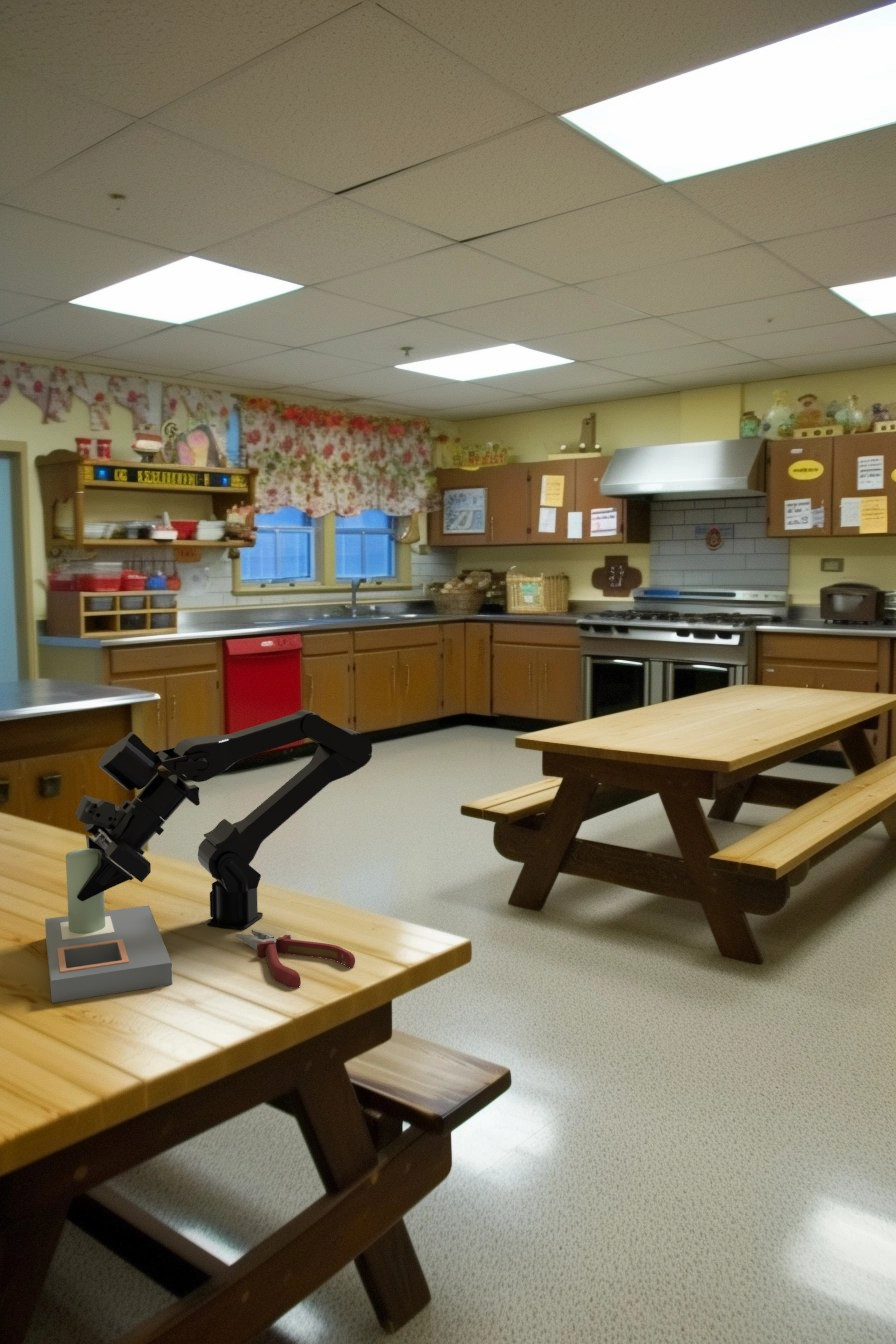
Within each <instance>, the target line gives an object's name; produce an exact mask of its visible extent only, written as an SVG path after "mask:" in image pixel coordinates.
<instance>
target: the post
mask: <svg viewBox="0 0 896 1344" xmlns="http://www.w3.org/2000/svg"><path fill="white" fill-rule="evenodd" d="M98 850H99V849H87V848H81V849H76V850H71V851H68V852H67V853H66V854H65V866H66V869H65V870H66V894H67V895H66V896H67V898H66V899H67V916H68V922H69V931H70V932H72V933H78V934H84V933H92V932H96V931H99V930H101V929H103V928H104V927H105V911H106V909H105V907H106V906H105V891H103V892H101V893H99V894H97V895H95V896H93V897H91V898H89V899H87V900H85V901H80V900H79V899H78V898H77V895H78V893H79V892H80V890H81V888H82V887H83V885H84V884H85V883H86V881H87V880H88V878H89V877H90V875H91V874H92V872H93V871H94V869H95V868H96V867H97V865H98ZM100 851H101V850H100ZM101 852H102V851H101Z"/></svg>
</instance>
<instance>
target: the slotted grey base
mask: <svg viewBox="0 0 896 1344" xmlns="http://www.w3.org/2000/svg"><path fill="white" fill-rule="evenodd" d="M44 924H45V927H44V928H45V943H46V952H47V953H46V954H47V955H46V956H47V964H48V974H49V975H48V976H49V985H50V986H49V987H50V995H51V996H50V997H51V1004H55V1003H62V1002H69V1001H75V1000H81V999H89V998H93V997H98V996H100V997H101V996H105V995H114V994H118V993H124V992H131V991H137V990H143V989H148V988H149V989H150V988H157V987H162V986H163V987H164V986H168V985H173V974H172V973H173V971H172V970H173V967H172V965H173V964H172V960H171V956H170V955H169V952H168V950H167V947H166V945H165V942H164V940H163V937H162V935H161V932H160V930H159V928H158V927H159V926H158V924H157V922H156V920H155V917H154V914H153V912H152V909H151V906H150V905H149V904H148V905H142V906H135V907H134V906H133V907H128V908H127V907H125V908H117V909H110V910H105V927H104V928H103V929H101V930H99V931H96V932H92V933H84V934H78V933H72V932H70V931H69V922H68V915H64V916H57V917H56V916H55V917H48V918H45V919H44Z"/></svg>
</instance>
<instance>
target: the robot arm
mask: <svg viewBox="0 0 896 1344" xmlns="http://www.w3.org/2000/svg"><path fill="white" fill-rule="evenodd" d="M304 739H305V740H306V739H309V740H310V741H312V742H313V743H316V744H318V746H317V748H316V750H315V751H314V752H315V753H314V754H313V756H312V758H311V759H310V761H309V762H308V764H306V765H305V766H304V767H303V768H302V769H301V770H299V771H298V772H297V773H296V774H294V775H293V776H292V777H291V778H290V779H289V780H288V781H286V782H285V783H284V784H283V785H282V786H281V787H279V788H278V789H277V790H276V791H275V792H273V793H272V794H271V795H270V796H268V797H267V798H266V799H265V800H264V801H263V802H261V804H260V805H258V806H257V807H255V809H254V810H252V811H251V812H250V813H248V815H246V817H244V818H242V820H239V821H236V822H234V823H231V822H230V821H229V820H227V819H226V818H223V819H222V820H221V821H219V822H218V824H217V825H216V826H214V828H213V829H211V830H210V831H209V832H206V833H204V834H203V837H204V839H203V840H202V841H201V843H199V845H198V848H197V849H198V851H197V859H198V862H199V864H200V865H201V866H202V867H203V868H204V869H205V870H206V872H207V873H209V874H210V875H211V877H212V878H213V879H215V880H216V881H213V882H212V883H211V891H210V892H209V916H210V919H209V920H208V921H206V923H207V926H213V927H220V928H228V929H236V930H244V929H246V928H248V927H250V926H251V925H252V924H254V923H256V921H258V920H259V919H260V918H262V917H263V916H264V915H263V912H262V911H261V912H259V911H258V910H259V909H258V887H259V884H260V880H261V877H262V875H261V874H260V873H259V872H258V871H257V870H256V869H255V868H253V867H252V866H251V865H250V864H251V863H252V861H253V860H254V858H255V857H256V855H257V853H258V851H259V848H260V847H261V846H262V844H263V842H264V841H266V839H267V838H268V837H270V836H271V834H273V833H274V832H275V831H276V830H278V829H279V827H281V826H283V824H284V823H286V822H287V821H288V820H289V819H290V818H291V817H292V816H294V815H295V814H296V813H298V811H300V810H301V809H302V808H303V807H304V806H305V805H306V804H308V803H309V801H311V800H312V799H313V798H314V797H315V796H316V795H318V794H319V793H320V792H321V791H322V790H323V789H324V788H326V787H327V786H328V785H329V784H331V783H332V782H334V781H338V780H340V779H342V778H345V777H348V776H350V775H351V774H353V773H355V772H357V771H358V770H360V769H362V768H363V767H365V766H366V765H368V763H369V762H370V761H371V759H372V757H373V755H372V754H373V746H372V745H373V744H372V742H371V739H370V738H369V737H368V736H367V735H365V734H363V733H361V732H358V731H356V730H352V729H350V728H349V727H348V728H347V727H339V726H337V725H336V724H333V723H331V722H330V721H327V720H325V719H324V718H322V717H321V715H319V714H318V713H316V712H313V711H311V710H307V709H300V710H298V711H296V712H294V713H291V714H289V715H286V716H283V717H279V718H277V719H272V720H269V721H266V722H263V723H261V724H257V725H255V726H251V727H248V728H245V729H240V730H238V731H235V732H232V733H228V734H218V735H216V734H215V735H202V736H196V737H195V736H194V737H188V738H184V739H181V741H179V742H178V743H176V745H175V746H174V747H170V748H165V749H160V750H156V751H153V750H152V749H151V748H150V747H148V745H147V744H145V743H144V742H143V740H142V739H141V738H140V737H139V736H138V735H137V734H136V733H134V732H132V731H130V732H128V733H127V735H126V736H125V737H122V738H121V739H119V740H118V741H116V742H115V743H114V744H111V745H110V746H109V747H108V748H107V749H106V750H105V752H104V753H103V754H102V756H101V758H100V759H99V761H98V763H97V766H98V768H99V769H100V770H102V771H103V772H104V773H105V774H107V775H108V776H109V777H111V778H112V779H113V780H114V781H115V782H116V783H118V784H119V785H120V786H122V787H123V788H124V789H125V790H127V791H129V792H130V791H133V790H134V789H136V790H139V791H140V790H141V791H140V792H139V793H138V794H137V795H136V797H134V798H133V799H132V800H131V801H130V800H129V799H127V800H124V801H122V802H121V803H120V805H117V804H115V803H114V802H112V801H110V802H109V801H108V800H106V799H103V798H102V799H98V798H95V797H93V796H89V795H85V794H83V796H82V798H81V800H80V803H79V804H78V807H77V809H76V812H75V814H74V816H75V817H77V818H78V820H77V821H79V822H80V823H83V824H85V825H84V826H83V829H85V831H86V832H87V833H89V834H92V836H89V835H88V834H86V835H85V842H86V849H99V850H98V865H97V867H96V868H95V869H94V871H93V872H92V874H91V875H90V877H89V878H88V880H87V881H86V883H85V884H84V885H83V887H82V888H81V890H80V892H79V893H78V895H77V898H78V899H79V900H80V901H85V900H87V899H89V898H91V897H93V896H95V895H97V894H99V893H101V892H103V891H104V892H105V891H107V890H109V889H111V888H114V887H116V886H119V885H121V884H123V883H126V882H127V881H132V880H134V878H135V879H136V880H137V881H139V882H140V883H143V882H144V881H145V879H147V877H148V876H149V874H151V873H152V872H151V871H152V870H151V869H152V868H151V862H150V861H149V860H148V859H147V858H146V856H144V854H145V851H144V850H143V848H144V847H145V846H146V845H147V844H148V842H149V841H150V840H151V839H152V838H153V837H154V836H155V834H157V835H158V836H161V834H163V832H164V831H165V829H164V828H163V827H162V826H164V824H165V823H166V822H167V821H168V820H169V819H170V817H171V816H172V815H173V814H174V813H175V812H176V810H178V808H179V807H180V806H181V805H182V804H183V802H184V801H185V800H186V799H187V801H189V802H190V803H192V804H194V805H195V806H200V804H201V801H200V794H199V793H200V787H199V786H198V785H197V784H191V785H189V784H187V782H185V781H184V780H183V779H182V778H181V777H179V776H178V775H182V776H184V777H185V778H186V779H188V780H190V781H193V782H196V783H202V782H206V781H208V780H210V779H213V778H214V777H216V776H218V775H220V774H221V773H224V772H225V771H226V770H229V768H231V767H232V766H233V765H234V764H236V763H239V762H240V761H242V760H244V759H247V758H250V757H253V756H256V755H259V754H262V753H266V752H269V751H271V750H275V749H277V748H280V747H283V746H287V745H289V744H292V743H295V742H299V741H301V740H304ZM159 767H162V768H164V769H165V770H166V771H168V772H170V774H171V775H170V776H167V775H166V774H164V773H163V772H162V771H161V770H160V769H159ZM100 850H101V851H102V852H101V851H100Z"/></svg>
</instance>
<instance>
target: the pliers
mask: <svg viewBox="0 0 896 1344" xmlns="http://www.w3.org/2000/svg"><path fill="white" fill-rule="evenodd" d="M251 933H252V934H253V935H252V934H240V933H235V937H236V938H237V939H239V940H240V941H242V942H243V943H245V944H246V945H248V946H249V947H251V948H252V949H253V950H255V951H256V956H257V959H262V958H263V959H264V958H265V957H266V958H265V959H266V962H267V967H268V970H269V974H270V975H271V978H272V979H273V980H274V981H276V982H277V983H280V984H282V985H283V986H286V987H288V988H290V987H292V989H298V988H300V987H301V982H302V980H301V975H300V974H299V973H298V972H297V971H296V970H294V969H292V968H290V967H288V966H286V965H284V964H283V963H281V961H280V959H279V955H278V954H285V955H286V954H287V955H293V954H295V955H294V956H302V957H310V956H313V957H312V958H318V957H321V959H325V958H327V959H326V960H330V959H332V960H331V961H334V960H335V961H334V962H336V961H338V962H337V963H339V964H341V963H342V964H341V965H343V964H345V965H346V966H345V965H344V966H345V967H347V966H348V967H347V968H349V967H350V968H349V969H352V968H354V967H355V964H356V957H355V954H353V953H352V952H351V951H349V950H348V949H345V948H343V947H342V946H339V945H335V944H330V943H324V942H316V941H309V940H308V941H307V940H302V939H301V940H299V939H292V936H291V935H289V934H284V935H283V936H278V937H277V938H276V937H275V936H274V935H272V934H269V933H265V932H261V931H259V930H258V931H257V930H254V929H251ZM351 967H352V968H351ZM299 986H300V987H299ZM297 987H298V988H297Z"/></svg>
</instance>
